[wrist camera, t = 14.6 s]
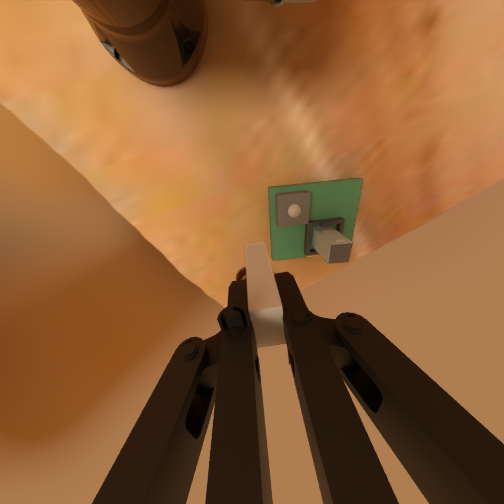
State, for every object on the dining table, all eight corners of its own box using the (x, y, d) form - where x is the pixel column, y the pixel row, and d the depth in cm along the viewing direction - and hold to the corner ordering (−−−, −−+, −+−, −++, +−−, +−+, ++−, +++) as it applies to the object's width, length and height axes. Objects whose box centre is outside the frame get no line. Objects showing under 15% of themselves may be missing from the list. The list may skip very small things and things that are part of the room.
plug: (313, 226, 38) (331, 242, 31) (332, 225, 38) (354, 240, 31) (311, 245, 40) (327, 264, 33) (329, 243, 40) (349, 262, 33)
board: (268, 186, 36) (272, 190, 31) (357, 177, 36) (373, 180, 31) (271, 256, 43) (274, 267, 39) (345, 248, 43) (357, 258, 39)
